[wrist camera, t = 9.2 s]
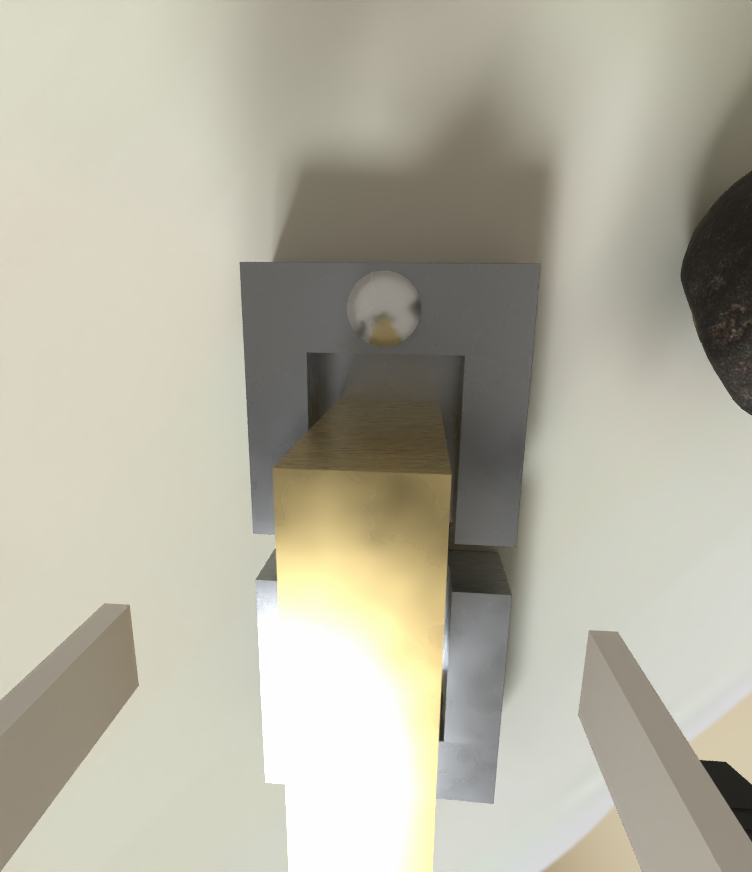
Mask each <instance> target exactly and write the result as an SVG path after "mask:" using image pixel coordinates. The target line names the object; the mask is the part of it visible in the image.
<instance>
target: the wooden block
mask: <svg viewBox="0 0 752 872" xmlns="http://www.w3.org/2000/svg"><path fill="white" fill-rule="evenodd" d="M451 476H452V474H451V468H450V462H449V456H448V450H447V444H446V438H445V432H444V426H443V420H442V414H441V408H440V402H407V401H369V400H337V401H336V402H335V404H334V405H333V406H332V407H331V408H330V409H329V410H328V411H327V412H326V413H325V414H324V415H323V416H322V417H321V418H320V419H319V420H318V421H317V422H316V423H315V424H314V425H313V426H312V427H311V429H310V430H309V431H308V432H307V433H306V434H305V435H304V436H303V437H302V438H301V439H300V440H299V441H298V442H297V443H296V444H295V445H294V446H293V447H292V448H291V449H290V450H289V451H288V452H287V453H286V455H285V456H284V457H283V458H282V459H281V460H280V461H279V462H278V463H277V464H276V465H275V466H274V467H273V490H274V515H275V539H276V563H277V587H278V612H279V636H280V660H281V684H282V709H283V733H284V757H285V781H286V806H287V830H288V854H289V872H432V866H433V846H434V825H435V805H436V784H437V764H438V743H439V723H440V702H441V681H442V661H443V640H444V620H445V599H446V579H447V558H448V538H449V517H450V497H451Z"/></svg>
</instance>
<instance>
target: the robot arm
mask: <svg viewBox="0 0 752 872" xmlns="http://www.w3.org/2000/svg"><path fill="white" fill-rule="evenodd" d="M138 686H139V684H138V675H137V666H136V657H135V649H134V640H133V631H132V622H131V613H130V605H123V604H105V603H104V604H103V605H102V606H101V607H100V608H99V609H98V610H97V611H96V612H95V613H94V614H93V615H92V616H90V617H89V618H88V619H87V620H86V621H85V622H84V623H83V624H82V625H81V626H80V627H79V628H78V629H77V630H75V631H74V632H73V633H72V634H71V635H70V636H69V637H68V638H67V639H66V640H65V641H64V642H63V643H62V644H60V645H59V646H58V647H57V648H56V649H55V650H54V651H53V652H52V653H51V654H50V655H49V656H48V657H47V658H45V659H44V660H43V661H42V662H41V663H40V664H39V665H38V666H37V667H36V668H35V669H34V670H33V671H32V672H30V673H29V674H28V675H27V676H26V677H25V678H24V679H23V680H22V681H21V682H20V683H19V684H18V685H17V686H15V687H14V688H13V689H12V690H11V691H10V692H9V693H8V694H7V695H6V696H5V697H4V698H3V699H2V700H0V872H1V870H2V869H3V867H4V866H5V865H6V863H7V862H8V861H9V859H10V858H11V857H12V855H13V854H14V853H15V851H16V850H17V849H18V847H19V846H20V845H21V843H22V842H23V841H24V839H25V838H26V837H27V835H28V834H29V832H30V831H31V830H32V828H33V827H34V826H35V824H36V823H37V822H38V820H39V819H40V818H41V816H42V815H43V814H44V812H45V811H46V810H47V808H48V807H49V806H50V804H51V803H52V802H53V800H54V799H55V797H56V796H57V795H58V793H59V792H60V791H61V789H62V788H63V787H64V785H65V784H66V783H67V781H68V780H69V779H70V777H71V776H72V775H73V773H74V772H75V771H76V769H77V768H78V767H79V765H80V764H81V762H82V761H83V760H84V758H85V757H86V756H87V754H88V753H89V752H90V750H91V749H92V748H93V746H94V745H95V744H96V742H97V741H98V740H99V738H100V737H101V736H102V734H103V733H104V732H105V730H106V729H107V727H108V726H109V725H110V723H111V722H112V721H113V719H114V718H115V717H116V715H117V714H118V713H119V711H120V710H121V709H122V707H123V706H124V705H125V703H126V702H127V701H128V699H129V698H130V697H131V695H132V694H133V692H134V691H135V690H136V688H137V687H138ZM578 716H579V718H580V721H581V723H582V726H583V728H584V730H585V733H586V735H587V738H588V740H589V743H590V745H591V748H592V750H593V752H594V755H595V757H596V760H597V762H598V765H599V767H600V770H601V772H602V775H603V777H604V779H605V782H606V784H607V787H608V789H609V792H610V794H611V797H612V799H613V802H614V804H615V806H616V809H617V811H618V814H619V816H620V818H621V821H622V824H623V826H624V829H625V831H626V833H627V836H628V838H629V840H630V843H631V846H632V848H633V851H634V853H635V855H636V858H637V860H638V863H639V865H640V868H641V870H642V872H752V784H750V783H749V782H748V781H747V780H746V779H745V778H744V777H742V776H741V775H740V774H739V773H738V772H737V771H735V770H734V769H733V768H732V767H731V766H730V765H729V764H727V763H726V762H719V761H703V760H699V759H698V757H697V756H696V754H695V752H694V751H693V749H692V748H691V746H690V745H689V743H688V741H687V740H686V738H685V737H684V735H683V734H682V732H681V730H680V729H679V727H678V726H677V724H676V723H675V721H674V719H673V718H672V716H671V715H670V713H669V712H668V710H667V708H666V707H665V705H664V704H663V702H662V701H661V699H660V698H659V696H658V694H657V693H656V691H655V690H654V688H653V687H652V685H651V683H650V682H649V680H648V679H647V677H646V676H645V674H644V672H643V671H642V669H641V668H640V666H639V665H638V663H637V661H636V660H635V658H634V657H633V655H632V654H631V652H630V651H629V649H628V647H627V646H626V644H625V643H624V641H623V640H622V638H621V636H620V635H619V633H618V632H609V631H591V630H589V634H588V642H587V650H586V657H585V665H584V673H583V681H582V689H581V697H580V704H579V712H578Z"/></svg>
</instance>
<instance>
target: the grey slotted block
mask: <svg viewBox="0 0 752 872" xmlns="http://www.w3.org/2000/svg"><path fill="white" fill-rule="evenodd" d="M539 276H540V264H525V263H332V262H240V277H241V298H242V318H243V338H244V358H245V378H246V398H247V418H248V438H249V458H250V478H251V498H252V518H253V533H256V534H275V515H274V490H273V467H274V466H275V465H276V464H277V463H278V462H279V461H280V460H281V459H282V458H283V457H284V456H285V455H286V453H287V452H288V451H289V450H290V449H291V448H292V447H293V446H294V445H295V444H296V443H297V442H298V441H299V440H300V439H301V438H302V437H303V436H304V435H305V434H306V433H307V432H308V431H309V430H310V429H311V427H312V426H313V425H314V424H315V423H316V422H317V421H318V420H319V419H320V418H321V417H322V416H323V415H324V414H325V413H326V412H327V411H328V410H329V409H330V408H331V407H332V406H333V405H334V404H335V402H336V401H337V400H369V401H407V402H440V408H441V414H442V420H443V426H444V432H445V438H446V444H447V450H448V456H449V462H450V468H451V474H452V476H451V497H450V517H449V522H452V527H453V535H454V543H455V544H465V545H484V546H503V547H516V540H517V528H518V517H519V505H520V494H521V482H522V471H523V459H524V448H525V436H526V425H527V414H528V402H529V391H530V379H531V368H532V356H533V345H534V333H535V322H536V310H537V299H538V287H539ZM511 597H512V595H511V592H510V588H509V585H508V582H507V578H506V575H505V572H504V569H503V565H502V562H501V559H500V556H499V553H494V552H475V551H457V550H448V558H447V579H446V599H445V620H444V640H443V661H442V681H441V702H440V723H439V743H438V764H437V784H436V798H438V799H448V800H459V801H469V802H480V803H490V804H494V792H495V781H496V770H497V758H498V747H499V735H500V724H501V712H502V701H503V689H504V678H505V666H506V655H507V643H508V632H509V620H510V609H511ZM256 598H257V619H258V639H259V659H260V679H261V699H262V719H263V739H264V759H265V779H266V782H271V783H282V784H286V781H285V757H284V733H283V709H282V684H281V660H280V636H279V612H278V587H277V563H276V548H275V550H274V551H273V553H272V554H271V556H270V558H269V559H268V561H267V562H266V564H265V566H264V567H263V569H262V570H261V572H260V574H259V575H258V577H257V578H256Z"/></svg>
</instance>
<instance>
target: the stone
mask: <svg viewBox="0 0 752 872" xmlns="http://www.w3.org/2000/svg"><path fill="white" fill-rule="evenodd" d="M681 281H682V285H683V288H684V292H685V295H686V297H687V300H688V303H689V306H690V309H691V312H692V317H693V321H694V325H695V328H696V331H697V334H698V337H699V339H700V342H701V343H702V346H703V349H704V351H705V353H706V355H707V358H708V359H709V361H710V363H711V365H712V367H713V368H714V370H715V372H716V373H717V375H718V377H719V378H720V380H721V381H722V383H723V385H724V386H725V388H726V389H727V391H728V393H729V394H730V396H731V397H732V399H733V400H734V401H735V402H736V403H737V404H738V405H739V406H740V408H741V409H743V410H744V411H746V412H747V413H749V414H750V415H752V171H751V172H749V173H748V174H746V175H745V176H744V177H742V178H741V179H740V180H738V181H737V182H736V183H735V184H733V185H732V186H731V187H730V188H729V189H728V190H727V191H726V192H725V193H724V194H723V195H722V196H721V197H720V198H719V199H718V200H717V201H716V202H715V203H714V205H713V206H712V207H711V209H710V210H709V211H708V213H707V214H706V215H705V217H704V218H703V219H702V221H701V222H700V223H699V225H698V226H697V228H696V229H695V231H694V234H693V236H692V238H691V240H690V243H689V245H688V248H687V251H686V254H685V256H684V259H683V263H682V268H681Z"/></svg>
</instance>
